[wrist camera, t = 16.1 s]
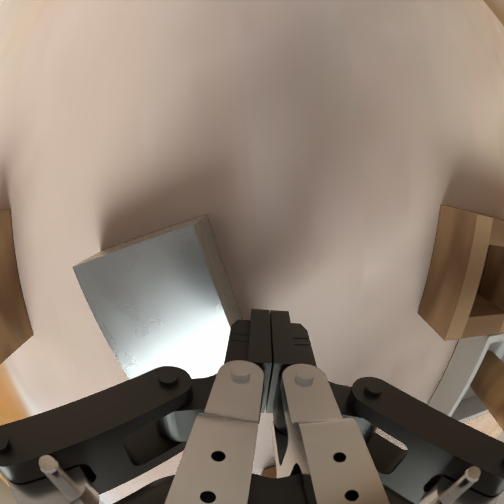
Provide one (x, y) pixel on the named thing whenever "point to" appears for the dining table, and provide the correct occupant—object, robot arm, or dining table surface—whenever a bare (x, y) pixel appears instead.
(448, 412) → the tray
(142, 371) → the grey rectangular block
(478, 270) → the socket block
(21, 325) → the block
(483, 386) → the dowel
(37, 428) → the robot arm
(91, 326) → the dining table surface
